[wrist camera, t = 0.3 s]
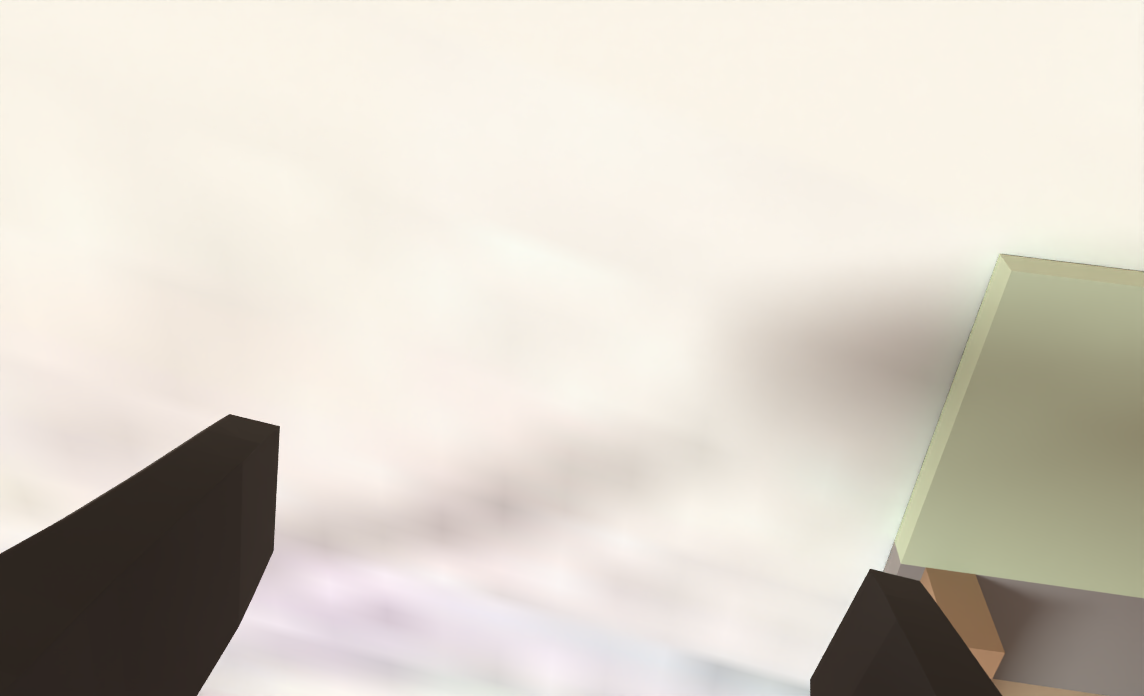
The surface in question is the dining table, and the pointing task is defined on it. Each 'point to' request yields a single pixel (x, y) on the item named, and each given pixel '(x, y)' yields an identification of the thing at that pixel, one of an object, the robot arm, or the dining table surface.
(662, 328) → the dining table surface
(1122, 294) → the chute
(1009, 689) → the birch block
